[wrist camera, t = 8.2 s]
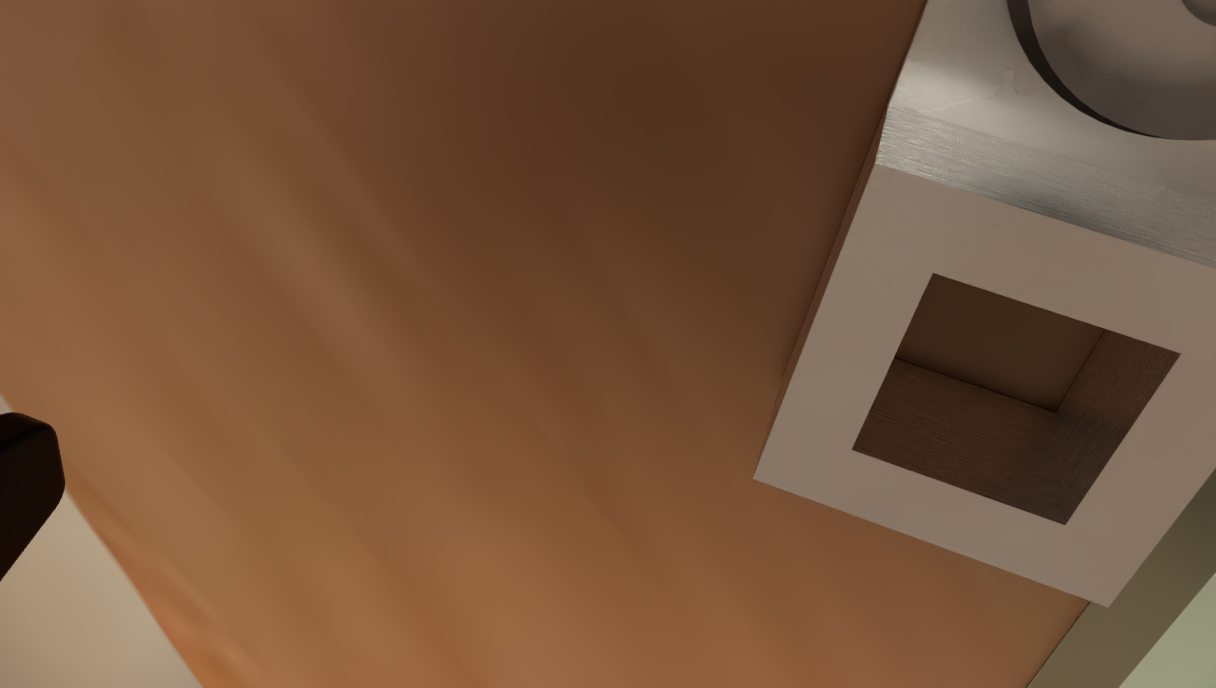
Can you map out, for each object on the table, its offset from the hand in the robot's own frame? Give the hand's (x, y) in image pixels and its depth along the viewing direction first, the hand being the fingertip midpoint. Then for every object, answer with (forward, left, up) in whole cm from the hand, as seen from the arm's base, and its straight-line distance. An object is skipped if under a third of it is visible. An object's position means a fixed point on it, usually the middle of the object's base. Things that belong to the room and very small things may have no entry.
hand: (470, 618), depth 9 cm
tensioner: (-6, -2, -13) cm, 14 cm away
